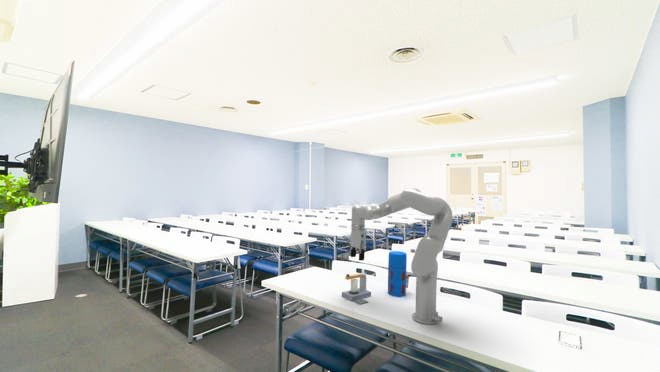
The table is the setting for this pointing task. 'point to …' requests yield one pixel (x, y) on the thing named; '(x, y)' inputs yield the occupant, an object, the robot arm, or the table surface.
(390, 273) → the thermos
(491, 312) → the table surface
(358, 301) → the pad
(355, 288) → the plug
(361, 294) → the outlet block
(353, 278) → the clip
